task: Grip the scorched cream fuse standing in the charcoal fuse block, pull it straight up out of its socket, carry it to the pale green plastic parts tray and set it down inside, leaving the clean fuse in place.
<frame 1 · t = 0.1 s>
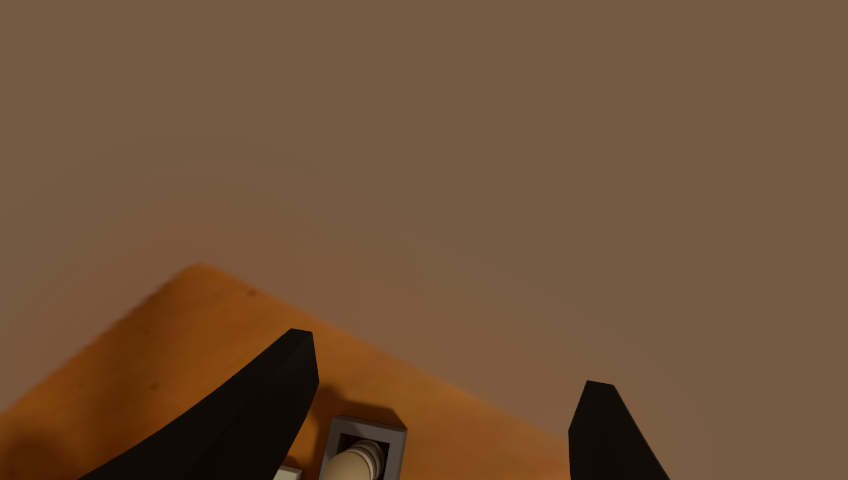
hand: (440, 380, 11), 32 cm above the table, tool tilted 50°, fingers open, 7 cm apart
blown fuse: (366, 460, 40), resting in fuse block
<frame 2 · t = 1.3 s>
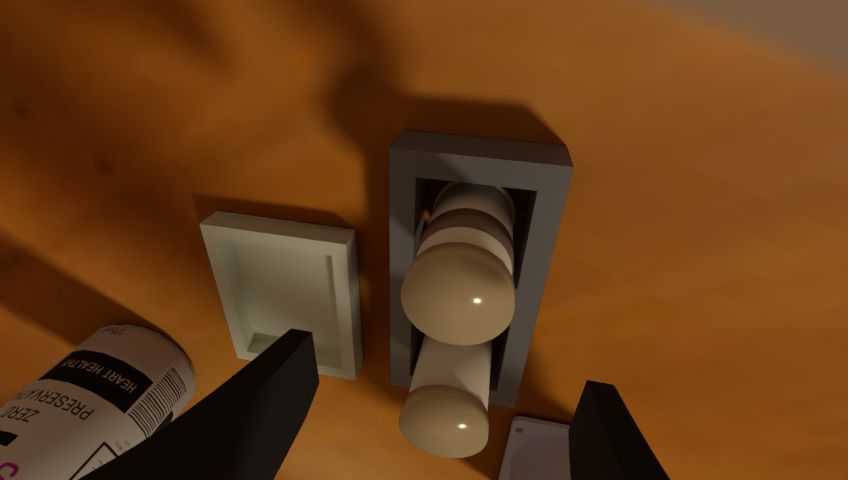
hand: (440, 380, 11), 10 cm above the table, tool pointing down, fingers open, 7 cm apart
parts tray: (296, 292, 24), on the table
blown fuse: (474, 209, 19), resting in fuse block
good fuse: (461, 319, 23), resting in fuse block
fuse block: (467, 269, 21), on the table
supplement can: (153, 357, 31), on the table
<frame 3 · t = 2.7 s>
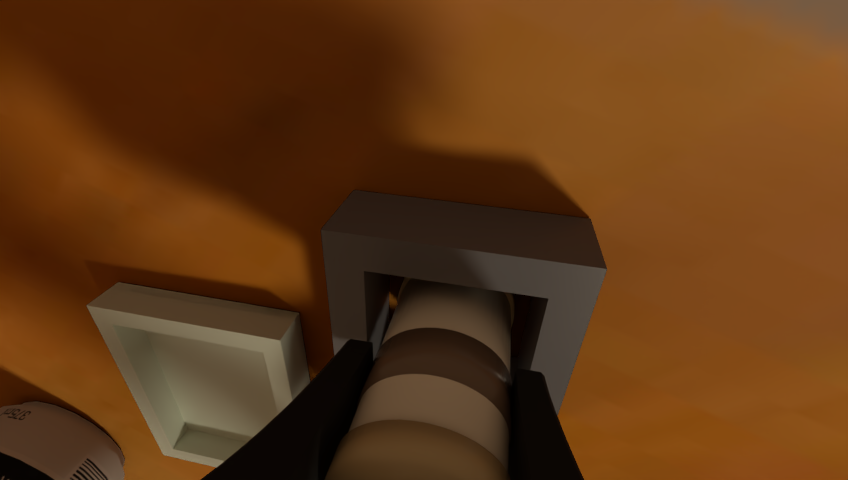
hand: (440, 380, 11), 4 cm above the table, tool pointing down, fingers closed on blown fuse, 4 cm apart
parts tray: (231, 380, 19), on the table
blown fuse: (457, 295, 14), resting in fuse block, touching gripper
fuse block: (449, 366, 16), on the table
supplement can: (75, 435, 26), on the table
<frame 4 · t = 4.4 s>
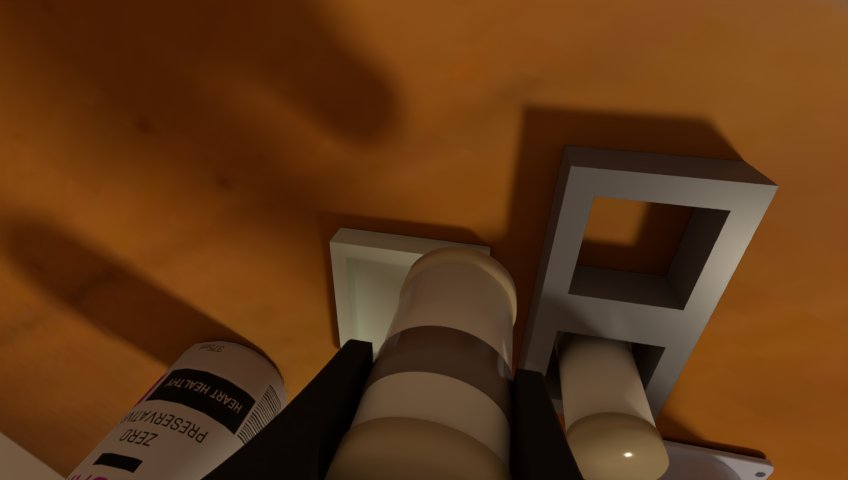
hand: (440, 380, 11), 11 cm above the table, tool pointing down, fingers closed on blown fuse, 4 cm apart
parts tray: (411, 310, 24), on the table
blown fuse: (459, 294, 14), point 7 cm above the table, touching gripper
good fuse: (590, 337, 22), resting in fuse block
fuse block: (607, 287, 20), on the table
supplement can: (241, 373, 31), on the table
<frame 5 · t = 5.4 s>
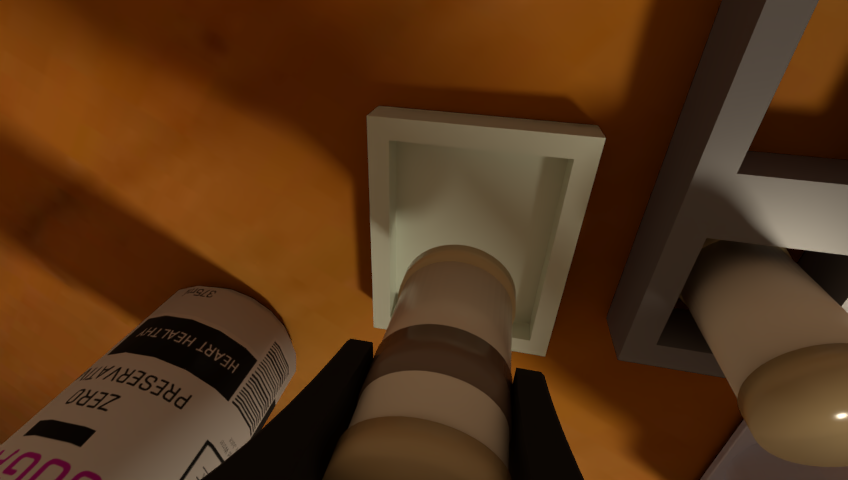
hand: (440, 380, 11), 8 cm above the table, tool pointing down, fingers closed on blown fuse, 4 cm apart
parts tray: (470, 232, 18), on the table
blown fuse: (458, 292, 14), point 4 cm above the table, touching gripper
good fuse: (722, 265, 16), resting in fuse block
fuse block: (765, 184, 14), on the table
supplement can: (238, 331, 24), on the table
when the fingers open (5 cm above the table, at t = 6.3 s): blown fuse stays where it is, resting on parts tray.
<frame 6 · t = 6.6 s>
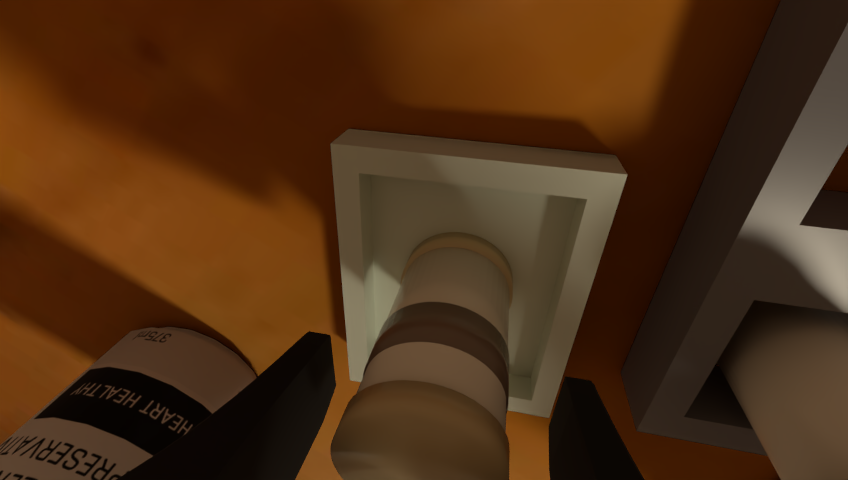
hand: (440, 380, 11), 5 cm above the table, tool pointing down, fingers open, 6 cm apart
parts tray: (461, 275, 15), on the table
blown fuse: (458, 278, 14), resting on parts tray
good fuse: (762, 318, 13), resting in fuse block
fuse block: (821, 227, 12), on the table
supplement can: (203, 373, 22), on the table
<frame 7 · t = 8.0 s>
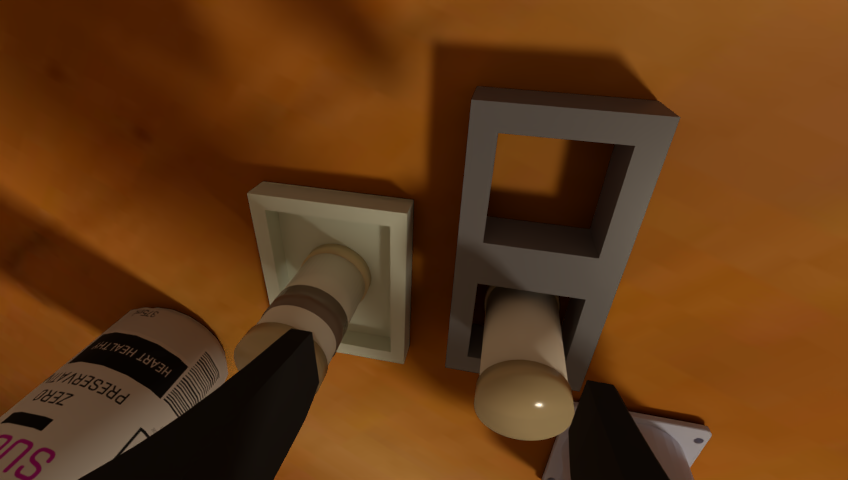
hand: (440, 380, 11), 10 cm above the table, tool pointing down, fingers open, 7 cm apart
parts tray: (342, 270, 23), on the table
blown fuse: (338, 272, 23), resting on parts tray
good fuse: (521, 297, 22), resting in fuse block
fuse block: (533, 242, 20), on the table
supplement can: (183, 342, 30), on the table
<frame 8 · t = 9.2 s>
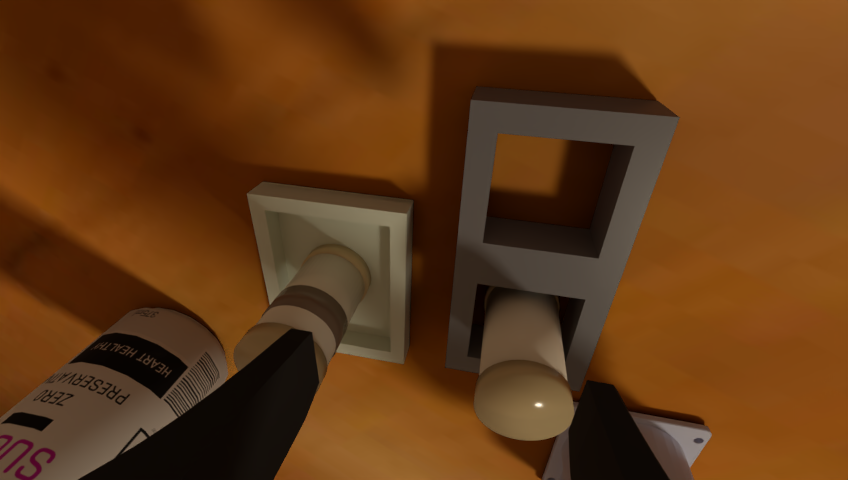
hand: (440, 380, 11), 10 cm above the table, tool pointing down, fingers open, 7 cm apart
parts tray: (342, 270, 23), on the table
blown fuse: (338, 272, 23), resting on parts tray
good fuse: (521, 297, 22), resting in fuse block
fuse block: (532, 242, 20), on the table
supplement can: (183, 342, 30), on the table
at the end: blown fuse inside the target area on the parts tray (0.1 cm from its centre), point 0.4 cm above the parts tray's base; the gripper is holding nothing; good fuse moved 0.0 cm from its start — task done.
